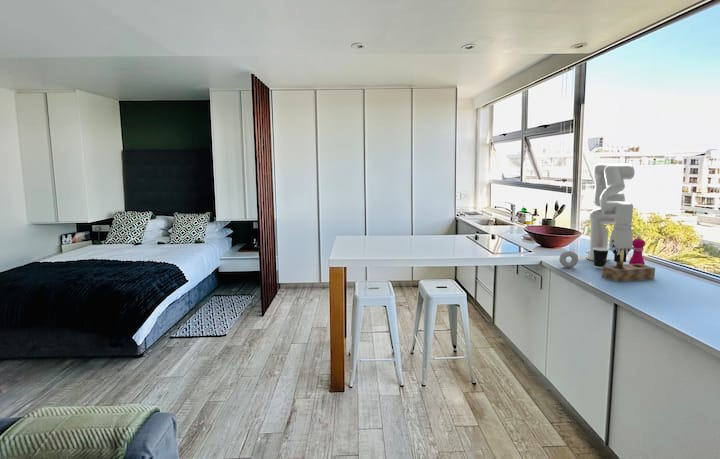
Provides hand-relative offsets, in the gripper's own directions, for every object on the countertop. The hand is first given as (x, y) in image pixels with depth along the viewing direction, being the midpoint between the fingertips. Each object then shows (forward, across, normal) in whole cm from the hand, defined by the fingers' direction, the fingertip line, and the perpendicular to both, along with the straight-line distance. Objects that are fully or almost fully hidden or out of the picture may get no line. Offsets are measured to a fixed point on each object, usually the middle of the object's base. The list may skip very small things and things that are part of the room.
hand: (619, 261), depth 216 cm
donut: (+9, +10, -26) cm, 30 cm away
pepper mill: (+9, -20, -10) cm, 24 cm away
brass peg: (+3, 0, 0) cm, 3 cm away
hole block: (+9, -6, 0) cm, 11 cm away
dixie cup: (+9, -7, -22) cm, 25 cm away
